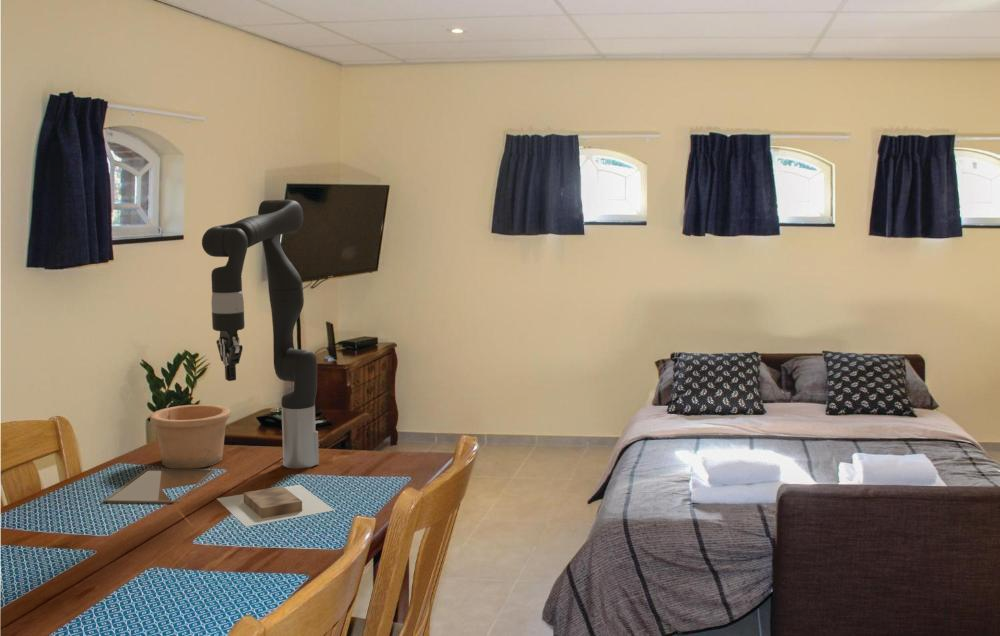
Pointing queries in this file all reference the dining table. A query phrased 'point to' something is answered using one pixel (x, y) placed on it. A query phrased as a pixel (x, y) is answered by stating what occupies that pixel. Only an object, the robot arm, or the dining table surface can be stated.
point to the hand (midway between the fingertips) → (230, 380)
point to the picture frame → (157, 485)
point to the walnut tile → (272, 502)
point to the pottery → (190, 435)
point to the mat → (250, 518)
